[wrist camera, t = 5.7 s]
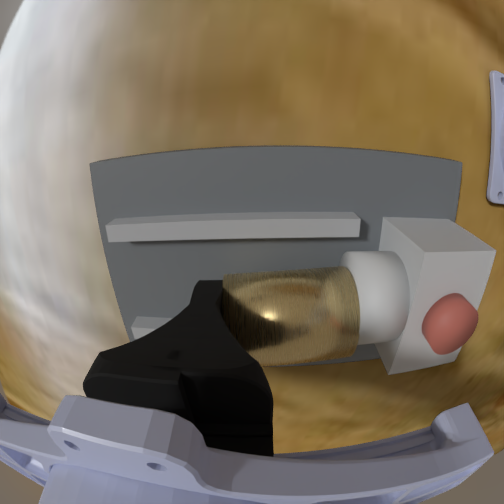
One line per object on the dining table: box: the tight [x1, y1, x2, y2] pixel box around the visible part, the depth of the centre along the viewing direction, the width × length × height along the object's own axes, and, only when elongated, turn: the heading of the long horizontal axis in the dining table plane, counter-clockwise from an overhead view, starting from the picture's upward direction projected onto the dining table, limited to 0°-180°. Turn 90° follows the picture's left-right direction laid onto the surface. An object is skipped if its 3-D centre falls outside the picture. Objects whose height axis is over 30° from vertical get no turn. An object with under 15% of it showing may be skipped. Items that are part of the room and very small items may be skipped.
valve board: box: [90, 146, 496, 375], centre depth 12 cm, size 18×12×6 cm, turn 92°
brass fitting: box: [222, 266, 360, 367], centre depth 12 cm, size 5×4×4 cm
